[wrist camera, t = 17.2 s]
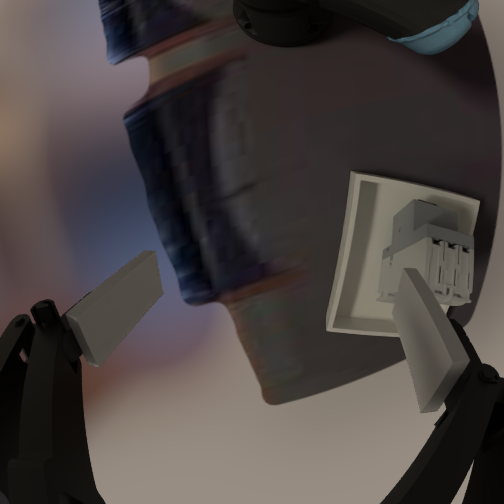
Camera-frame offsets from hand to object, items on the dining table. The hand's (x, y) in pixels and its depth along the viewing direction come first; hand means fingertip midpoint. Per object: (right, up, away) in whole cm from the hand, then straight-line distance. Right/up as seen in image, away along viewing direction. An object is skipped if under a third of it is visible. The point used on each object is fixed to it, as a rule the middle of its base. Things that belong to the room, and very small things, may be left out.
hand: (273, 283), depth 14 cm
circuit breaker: (+23, 0, +26) cm, 35 cm away
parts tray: (+24, +1, +27) cm, 36 cm away
